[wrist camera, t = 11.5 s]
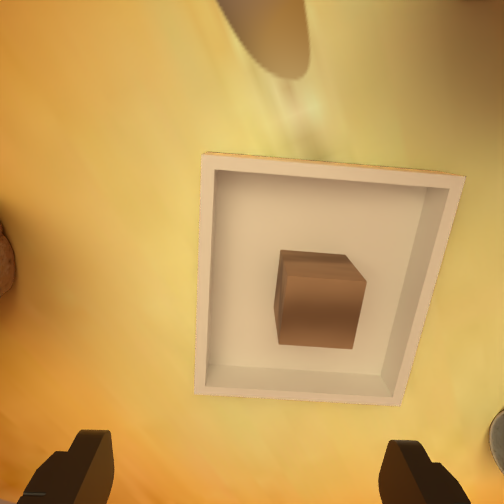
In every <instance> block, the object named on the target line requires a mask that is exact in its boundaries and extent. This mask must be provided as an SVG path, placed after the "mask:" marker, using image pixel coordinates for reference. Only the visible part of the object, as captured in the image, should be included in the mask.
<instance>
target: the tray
mask: <svg viewBox="0 0 504 504" xmlns="http://www.w3.org/2000/svg"><path fill="white" fill-rule="evenodd" d="M465 179H466V176H461V175H456V174H451V173H445V172H440V171H431V170H419V169H408V168H396V167H384V166H372V165H360V164H348V163H337V162H325V161H313V160H301V159H289V158H277V157H266V156H254V155H242V154H230V153H218V152H206V153H203V154H202V156H201V188H200V220H199V252H198V284H197V316H196V348H195V380H194V394H199V395H216V396H233V397H250V398H267V399H284V400H301V401H318V402H336V403H353V404H370V405H387V406H401V403H402V399H403V396H404V392H405V389H406V385H407V382H408V378H409V375H410V371H411V368H412V364H413V361H414V357H415V354H416V350H417V347H418V343H419V340H420V336H421V333H422V329H423V326H424V322H425V319H426V315H427V312H428V308H429V305H430V301H431V298H432V294H433V291H434V287H435V284H436V280H437V277H438V274H439V270H440V267H441V263H442V260H443V256H444V253H445V249H446V246H447V242H448V239H449V235H450V232H451V228H452V225H453V221H454V218H455V214H456V211H457V207H458V204H459V200H460V197H461V193H462V190H463V186H464V183H465ZM280 250H292V251H305V252H317V253H330V254H343V255H346V256H347V257H348V259H349V260H350V261H351V262H352V264H353V265H354V266H355V267H356V269H357V270H358V271H359V272H360V274H361V275H362V276H363V277H364V279H365V280H366V281H367V284H366V289H365V294H364V298H363V303H362V307H361V312H360V317H359V321H358V326H357V331H356V335H355V340H354V344H353V349H338V348H323V347H309V346H294V345H279V344H278V337H277V329H276V322H275V315H274V299H275V291H276V283H277V274H278V266H279V257H280Z"/></svg>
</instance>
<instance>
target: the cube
mask: <svg viewBox="0 0 504 504" xmlns="http://www.w3.org/2000/svg"><path fill="white" fill-rule="evenodd" d="M366 284H367V281H366V280H365V279H364V277H363V276H362V275H361V274H360V272H359V271H358V270H357V269H356V267H355V266H354V265H353V264H352V262H351V261H350V260H349V259H348V257H347V256H346V255H343V254H330V253H317V252H305V251H292V250H280V257H279V266H278V274H277V283H276V291H275V299H274V315H275V322H276V329H277V337H278V344H279V345H294V346H309V347H323V348H338V349H353V344H354V340H355V335H356V331H357V326H358V321H359V317H360V312H361V307H362V303H363V298H364V294H365V289H366Z"/></svg>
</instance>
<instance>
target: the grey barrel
mask: <svg viewBox="0 0 504 504" xmlns="http://www.w3.org/2000/svg"><path fill="white" fill-rule="evenodd" d="M489 443H490V449H491V452H492V455H493V458H494V460H495V462H496V464H497V466H498V467H499V469H500V470H501V472H502V473H503V474H504V410H503V411H502V412H500V413H499V414H498V415H497V416H496V417H495V418H494V420H493V422H492V424H491V427H490V432H489Z"/></svg>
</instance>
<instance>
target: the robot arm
mask: <svg viewBox="0 0 504 504" xmlns="http://www.w3.org/2000/svg"><path fill="white" fill-rule="evenodd" d="M113 478H114V459H113V450H112V440H111V433H110V431H109V430H81V431H79V433H78V434H77V435H76V437H75V439H74V441H73V443H72V445H71V447H70V448H69V450H68V452H64V451H56V452H54V453H53V454H52V455H51V456H50V457H49V458H48V459H47V460H46V461H45V462H44V463H43V464H42V465H41V466H40V467H39V468H38V469H37V470H36V472H35V473H34V475H33V477H32V478H31V480H30V482H29V484H28V485H27V487H26V489H25V490H24V493H23V496H21V497H20V499H19V500H18V502H17V504H106V503H107V500H108V497H109V495H110V491H111V488H112V484H113ZM378 483H379V492H380V496H381V500H382V503H383V504H471V502H470V500H469V499H468V497H467V495H466V494H465V492H464V490H463V489H462V487H461V485H460V484H459V482H458V481H457V480H456V479H455V478H454V477H453V476H452V475H451V474H450V473H449V472H448V471H447V470H446V468H445V467H444V466H443V465H442V464H441V463H432V462H431V460H430V458H429V457H428V455H427V453H426V451H425V449H424V448H423V446H422V445H421V444H420V443H419V442H418V441H411V440H390V441H389V443H388V446H387V449H386V452H385V456H384V459H383V463H382V466H381V470H380V473H379V479H378Z"/></svg>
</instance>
